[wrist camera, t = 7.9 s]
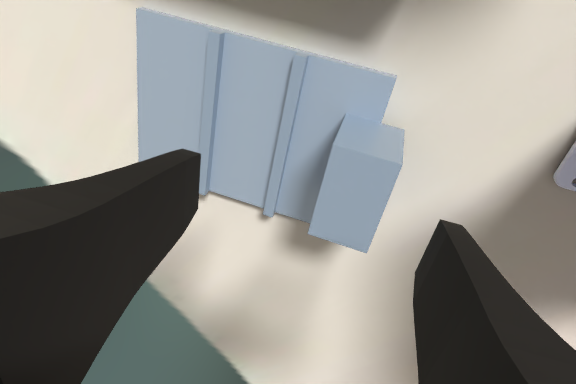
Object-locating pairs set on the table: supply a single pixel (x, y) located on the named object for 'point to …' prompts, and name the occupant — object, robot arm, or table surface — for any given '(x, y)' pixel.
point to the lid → (270, 124)
